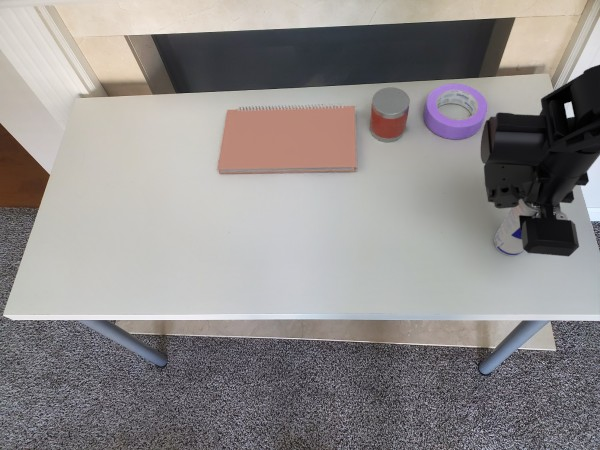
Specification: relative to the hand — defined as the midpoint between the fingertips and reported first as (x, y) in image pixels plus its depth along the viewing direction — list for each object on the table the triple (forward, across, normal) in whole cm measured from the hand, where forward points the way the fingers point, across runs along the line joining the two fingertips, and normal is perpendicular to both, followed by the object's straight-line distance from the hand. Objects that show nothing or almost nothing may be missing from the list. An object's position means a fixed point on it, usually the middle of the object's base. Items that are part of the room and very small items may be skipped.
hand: (522, 221), depth 69 cm
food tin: (+8, -24, -21) cm, 33 cm away
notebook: (+8, -20, -41) cm, 46 cm away
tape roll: (+8, -28, -8) cm, 31 cm away
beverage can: (+8, 0, 0) cm, 8 cm away
